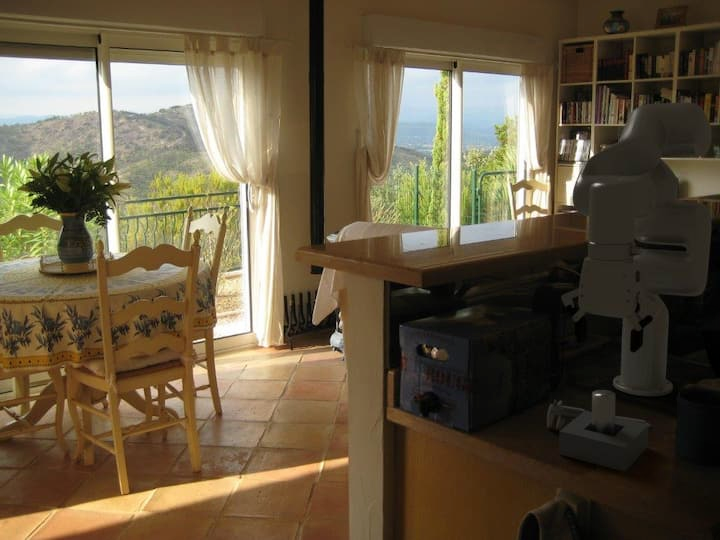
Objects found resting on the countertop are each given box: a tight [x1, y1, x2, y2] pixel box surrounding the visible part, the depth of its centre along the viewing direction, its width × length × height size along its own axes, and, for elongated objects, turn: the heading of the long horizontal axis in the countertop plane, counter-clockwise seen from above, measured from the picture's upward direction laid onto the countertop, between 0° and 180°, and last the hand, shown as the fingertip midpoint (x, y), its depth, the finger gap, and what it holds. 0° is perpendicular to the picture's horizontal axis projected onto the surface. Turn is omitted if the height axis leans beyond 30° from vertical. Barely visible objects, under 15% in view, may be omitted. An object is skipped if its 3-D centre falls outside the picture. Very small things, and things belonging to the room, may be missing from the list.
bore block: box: [558, 409, 650, 473], centre depth 132 cm, size 12×12×4 cm
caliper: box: [546, 399, 653, 431], centre depth 142 cm, size 20×1×6 cm, turn 90°
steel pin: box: [591, 389, 616, 436], centre depth 131 cm, size 4×4×10 cm
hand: (607, 345), depth 129 cm, fingers open, 9 cm apart
